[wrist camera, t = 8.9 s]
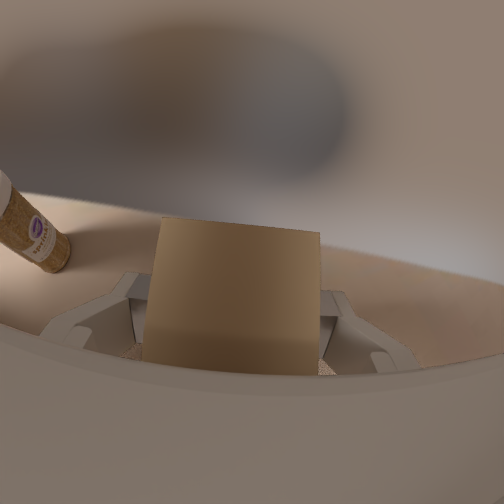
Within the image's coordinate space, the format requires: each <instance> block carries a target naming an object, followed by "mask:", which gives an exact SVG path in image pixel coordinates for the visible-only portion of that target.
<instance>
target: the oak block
mask: <svg viewBox="0 0 504 504" xmlns="http://www.w3.org/2000/svg"><path fill="white" fill-rule="evenodd" d="M319 337H320V233H319V232H311V231H302V230H293V229H284V228H275V227H264V226H254V225H245V224H235V223H224V222H214V221H203V220H191V219H179V218H167V217H162V222H161V227H160V232H159V237H158V242H157V247H156V252H155V258H154V264H153V269H152V276H151V282H150V288H149V295H148V302H147V309H146V317H145V325H144V333H143V343H142V353H141V361H144V362H150V363H156V364H162V365H169V366H176V367H183V368H191V369H200V370H209V371H219V372H231V373H245V374H263V375H298V376H317V375H318V361H319Z"/></svg>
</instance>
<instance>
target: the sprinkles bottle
mask: <svg viewBox="0 0 504 504" xmlns="http://www.w3.org/2000/svg"><path fill="white" fill-rule="evenodd" d="M0 243H2V244H3V245H5V246H6V247H8V248H9V249H11V250H12V251H14V252H15V253H17V254H18V255H20V256H21V257H23V258H25V259H26V260H28V261H29V262H31V263H34V264H36V265H37V266H39V267H41V269H43V270H44V271H45V272H48V273H55V272H57V271H59V270H60V269H62V268H63V267H64V266H65V264H66V263H67V260H68V258H69V256H70V243H69V241H68V238H67V237H66V236H65V235H64V234H62V233H60V232H59V231H58V230H57V229H55V227H54V226H53V225H52V224H51V223H50V222H49V221H48V220H47V219H46V218H45V217H44V216H43V215H42V214H41V213H40V212H39V211H38V210H37V209H35V208H34V207H33V206H32V205H31V204H30V203H29V202H28V201H27V200H26V199H25V198H24V197H23V196H22V195H20V193H19V192H18V191H17V190H16V189H15V188H14V187H13V185H12V184H11V182H10V180H9V178H8V177H7V176H6V175H5V174H4V173H3V172H2V171H1V170H0Z"/></svg>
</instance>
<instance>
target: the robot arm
mask: <svg viewBox="0 0 504 504" xmlns="http://www.w3.org/2000/svg"><path fill="white" fill-rule="evenodd" d="M151 276H152V275H149V274H142V273H141V274H140V273H136V272H126V273H125V274H124V275H123V277H122V278H121V279H120V281H119V282H118V284H117V285H116V287H115V288H114V289H113V291H112V292H111V294H110V295H107V294H106V295H103V296H101V297H99V298H96V299H94V300H92V301H90V302H87V303H85V304H83V305H81V306H78V307H76V308H74V309H71V310H69V311H67V312H65V313H63V314H60V315H58V316H56V317H54V318H52V319H51V320H50V322H49V323H48V324H47V325H46V327H45V328H44V329H43V331H42V332H41V333H40V335H39V336H36V335H33V334H30V333H27V332H24V331H21V330H18V329H15V328H12V327H9V326H7V325H4V324H1V323H0V504H504V353H501V354H497V355H493V356H489V357H484V358H480V359H475V360H470V361H465V362H459V363H454V364H448V365H442V366H435V367H428V368H421V366H420V365H419V363H418V361H417V360H416V358H415V356H414V354H413V353H412V351H411V349H409V348H408V347H406V346H405V345H403V344H401V343H400V342H398V341H397V340H395V339H394V338H392V337H391V336H389V335H387V334H386V333H384V332H383V331H381V330H380V329H378V328H377V327H375V326H373V325H372V324H370V323H369V322H367V321H366V320H364V319H363V318H361V317H356V315H355V313H354V311H353V309H352V307H351V305H350V303H349V301H348V299H347V297H346V296H345V294H344V292H342V291H321V290H320V337H319V359H323V360H324V361H325V362H326V363H327V364H328V365H329V367H330V368H331V369H332V370H333V371H334V372H335V373H336V374H337V375H317V376H298V375H263V374H245V373H231V372H219V371H209V370H200V369H191V368H183V367H176V366H169V365H162V364H156V363H150V362H144V361H138V360H133V359H128V358H122V357H119V356H120V355H122V354H123V353H124V352H126V351H127V350H128V349H129V348H131V347H132V346H133V345H135V343H143V333H144V325H145V317H146V309H147V302H148V295H149V288H150V282H151Z"/></svg>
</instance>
